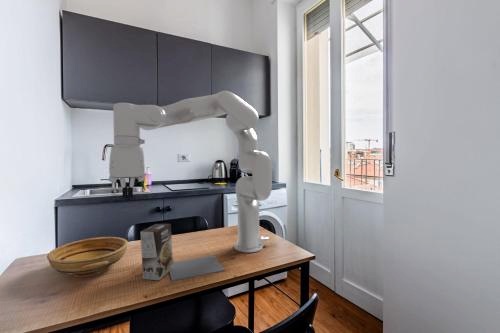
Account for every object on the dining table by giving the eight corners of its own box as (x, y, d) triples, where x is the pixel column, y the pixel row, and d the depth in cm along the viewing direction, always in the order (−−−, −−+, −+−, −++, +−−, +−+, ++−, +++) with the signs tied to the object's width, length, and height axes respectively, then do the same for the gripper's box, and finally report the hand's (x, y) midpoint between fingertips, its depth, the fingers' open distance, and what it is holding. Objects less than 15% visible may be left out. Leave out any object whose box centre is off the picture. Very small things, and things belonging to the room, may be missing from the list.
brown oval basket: (48, 264, 93) (47, 243, 93) (119, 249, 108) (119, 231, 108) (46, 300, 70) (45, 272, 69) (138, 274, 85) (137, 251, 84)
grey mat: (213, 256, 100) (213, 255, 100) (224, 270, 88) (224, 269, 88) (167, 264, 93) (167, 263, 93) (171, 281, 80) (171, 280, 80)
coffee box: (160, 280, 80) (157, 231, 79) (142, 279, 81) (139, 231, 80) (174, 267, 89) (171, 223, 88) (158, 266, 90) (155, 223, 89)
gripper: (151, 143, 86) (152, 196, 87) (101, 142, 80) (102, 199, 81) (152, 142, 79) (153, 199, 80) (98, 141, 73) (99, 203, 74)
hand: (127, 199), depth 80 cm, fingers closed
